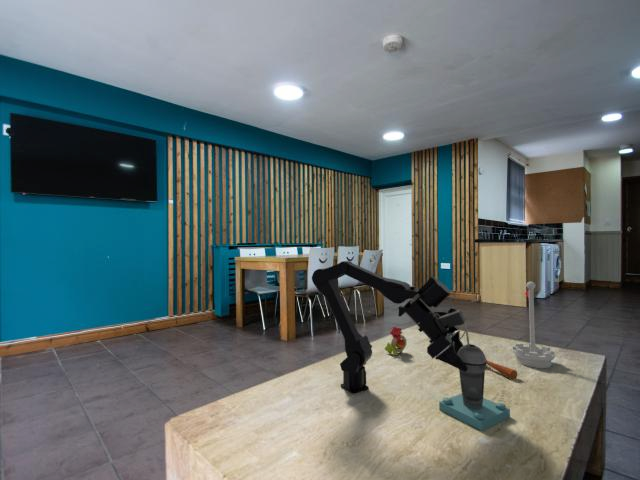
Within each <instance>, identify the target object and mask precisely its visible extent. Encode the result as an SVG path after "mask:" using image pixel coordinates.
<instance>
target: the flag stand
mask: <svg viewBox="0 0 640 480" xmlns="http://www.w3.org/2000/svg"><path fill="white" fill-rule="evenodd" d="M525 287H526V288H527V289H528V290H527V291H526V292H525V293H524V295H525V296H526V297H527V298H528V311H529V312H528V313H529V314H528V315H529V342H528V344H527V345H524V343H522V342H518V343H515V344H513V345H512V353H513V355H514V356H515V361H516V362H517V363H518V364H521V365H523V366H525V367H526V366H527V367H530V368H537V369H546V368H551V367H552V361H553V360H554V359H555V358H556V357H555V349H551V347H549V346H547V345H542V346H541V347H537V344H536V336H535V335H536V332H535V302H534V301H535V298H534V296H535V295H534V290H535V289H536V283H535V282H534V281H528V282H526V285H525Z"/></svg>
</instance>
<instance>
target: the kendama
mask: <svg viewBox="0 0 640 480" xmlns="http://www.w3.org/2000/svg"><path fill="white" fill-rule="evenodd" d="M486 361H487V364H486V365H487V366H489V367H491V368H492V369H494V370H495V371H497V372H499V373H500V374H502V375H503V376H505V377H507V378H508V379H510V380H512V381H513V380H515V379H517V376H518V371H517V370H515V369H513V368H511V367H508V366H504V365H501V364H497V363H494V362H492V361H489V360H488V359H487V358H486Z"/></svg>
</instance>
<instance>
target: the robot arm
mask: <svg viewBox="0 0 640 480" xmlns="http://www.w3.org/2000/svg"><path fill="white" fill-rule="evenodd" d="M345 275H346V276H348V277H349V278H352V279H354V280H356V281H358V282H360V283H363V284H364V285H366V286H369V287H370V288H372V289H375V290H377V291H378V292H379V293H380V294H381V295H382V296H384V298H386V299H388V300H389V301H391V302H392V304H397V305H399V306H398V307H397V309H398V317H402V316H403V315H405V314H406V315H407V316H408V317H409V318H410V319H411V320H412V322H414V324H415V325H416V326H417V327H418V329H417V330H418V331H419V333H421V332H423V333H424V335H425V336H426V337H427V338H428V339H429V341H428V342H429V345H428V346H427V347H426V353H427V354H428V355H429V357H430V358H431V359H432V360H433V359H435V360H437V361H441V362H443V363H445V364H447V365H450V366H452V367H454V368H456V369H458V370H459V369H460V370H462V371H464V372H465V371H467V370H468V368H467V367H466V365H465V364H464V362H463V361H462V360H461V358H460V357H459V355H458V354H457V353H458V351H459V349H460V348H461V347H462V346H464V345H465V344H463V342H462V340H461V339H460V338H461V336H460V335H461V331H460V327H459V326H462V325H465V322H466V319H465V317H464V313H463V312H462V310H461V309H457V308H456V307H451V308H450V307H449V308H448V310H447V313H448V314H446V315H444V316H440V315H439V314H438V313H436V314H434V313H433V312H434V311H432V310H431V308H432V307H434V308H435V309H437V308H438V307H439V306H440V305H441V304H442V303H443V302H444V301H446V300H447V299H448V298H449V297H450V296H452V292H451V291H450V289H449V288H448V287H447V285H445V283H442V282H441V281H440V280H439V279H437V278H435V277H434V276H431V277H429V279H428V280H427V281H426V282H425V283H424V284H423V285H422V286H421V287H417V286H411V285H410V284H409V283H408V282H406V281H402V280H398V279H394V278H388V277H385V276H382V275H380V274H377V273H375V272H373V271H372V270H371V271H370V270H368V269H366V268H364V267H361V266H359V265H358V264H355V263H353V262H352V261H350V260H345V261H344V260H343V261H340V262H339V263H337V264H333V265H331V266H329V267H324V268H323V267H322V268H318V269H315V270H314V271H313V273H312V275H311V282H312V283H313V285H314V286H315V288H316V289H317V291H318V292H319V293H320V294H321V295H323V296H324V298H325V299H326V302H327V304H328V306H329V308H330V311H331V312H332V314H333V317H334V319H335V322H336V324H337V326H338V327H339V330H340V333H341V335H342V336H343V340H344V352H345V355H346V358H344V359H343V361H341V362H340V363H339V366H340V368H341V372H342V371H343V372H342V373H343V375H342V377H343V381H342V383H341V384H340V387H341V388H342V389H345V390H346V391H348V392H349V393H351V394H355V393H358V392H362V391H365V390H368V389H370V388H369V387H370V386H368V385H367V371H366V366H365V365H367V362H369V360H370V359H371V358H372V356H373V349H372V348H373V345H372V344H371V342H370V341H369V337H368V336H367V334H365V335H364V336H362V334H360V333H359V331H358V330H357V329H358V328H357V327H356V325H355V323H354V321H353V318H352V317H351V314H350V313H349V310H348V308H347V306H346V304H345V301H344V299H343V297H342V296H341V293H340V290H339V280H338V279H339V278H341V277H344V276H345ZM417 296H418V297H417ZM415 297H417V298H416V299H415V300H411V299H414V298H415ZM407 300H408V301H407ZM406 301H407V303H405V302H406ZM403 303H405V304H404V305H400V304H403Z"/></svg>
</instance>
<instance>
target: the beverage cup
mask: <svg viewBox="0 0 640 480" xmlns="http://www.w3.org/2000/svg"><path fill="white" fill-rule="evenodd" d="M465 330H466V332H465V335H466V342H467V344H463V345H464V346H462V347H461V348H460V349H459V351H458V353H457V354H458V355H459V357H460V358H461V360H462V361H463V362H464V364H465V365H466V367H467V368H468V370H467V371H465V372H464V371H462V370H460V369H458V372H459V380H460V388H461V394H462V398H463V404H464V405H465V406H466V407H468V408H471V409H481V408H482V404H483V398H484V392H485V391H484V390H485V375H486V374H485V373H486V369H487V365H488V364H487V361H488V360H487V361H486V359H487V357H486V354H485V353H484V351H483V350H482V349H481V348H480V347H479V346H477V345H475V344H471V343H470V337H469V330H468V327H467V326H466V327H465V328H464V331H465Z"/></svg>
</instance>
